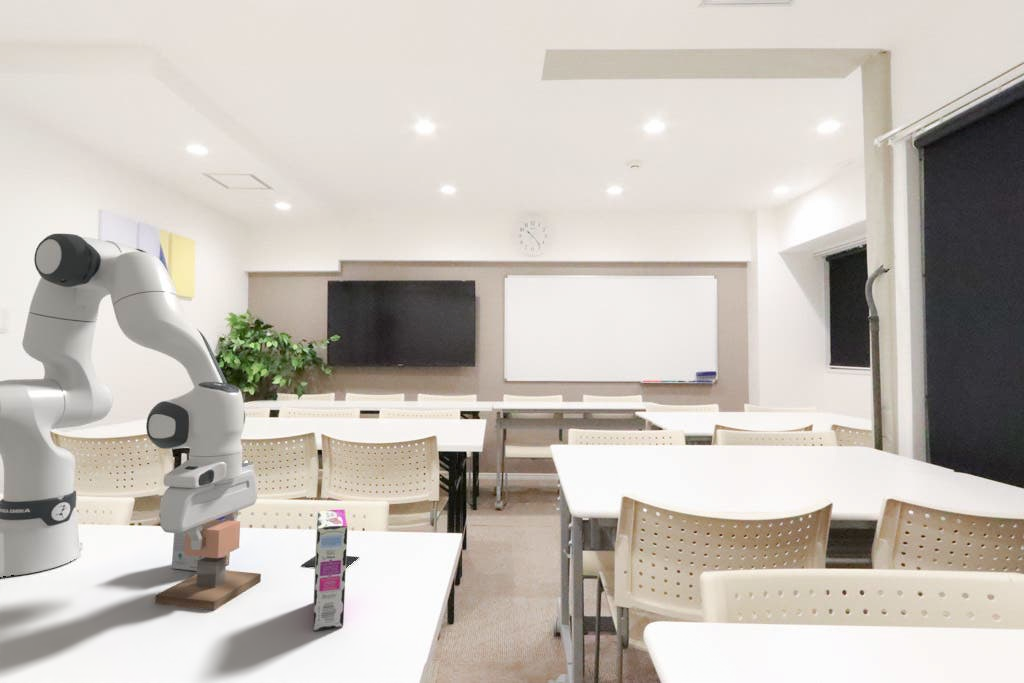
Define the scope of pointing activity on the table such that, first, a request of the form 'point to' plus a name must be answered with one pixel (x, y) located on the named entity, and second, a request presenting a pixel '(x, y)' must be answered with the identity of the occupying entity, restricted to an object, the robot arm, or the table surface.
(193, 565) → the ink cartridge box
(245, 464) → the robot arm
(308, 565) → the solid state drive
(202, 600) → the base
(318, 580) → the candy bar box
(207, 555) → the salmon rectangular block
